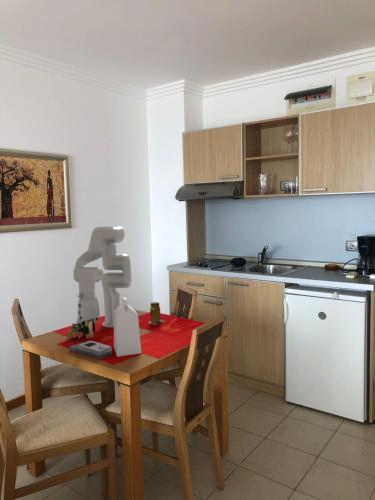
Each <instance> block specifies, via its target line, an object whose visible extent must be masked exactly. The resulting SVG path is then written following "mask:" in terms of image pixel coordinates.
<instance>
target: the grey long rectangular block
mask: <svg viewBox="0 0 375 500" xmlns="http://www.w3.org/2000/svg"><path fill="white" fill-rule="evenodd" d="M69 350H70V351H71V352H75V353H78V354H81V355H83V356H87V357H90V358H92V359H93V358H94V359H96V360H101V359H105V358H107V357H109V356H112V355H113V350H112V346H110V345H107V344H104V343H101V342H97V341H94V340H93V341H92V340H88V341H86V342H83V341H82V342H78V343H76V344H74V345H71V346H69Z"/></svg>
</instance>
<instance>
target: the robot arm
mask: <svg viewBox="0 0 375 500" xmlns="http://www.w3.org/2000/svg"><path fill="white" fill-rule="evenodd" d="M124 238H125V230H124V228H123V227H122V226H120V225H119V226H118V225H114V226H112V225H111V226H106V225H105V226H97V227H95V228H93V230H92V232H91V236H90V241H89V245H88V247H87V248H88V249H87V250H86V251H84V252H83V253H82V254H81V255H80V256H79V257H78V258H77V259H76V262H75V265H74V268H73V273H72V274H73V279H74V281H75V282H76V283H78V294H77V298H78V301H77V319H76V323H80V324H81V325H82V326H83V332H84V334H89V327H88V326H87V323H88V320H90V319H92V325H93V333H95V332H96V323H97V320H98V319H99V318H100V317H101V313H100V304H99V300H98V297H97V296H96V283H99V282H101V285H102V292H103V304H104V305H103V306H104V322H102V326H103V327H104V328H114V311H115V310H116V309H117V307H118V306H120V305H121V304H122V302H121V294H120V292H119V291H118V289H129V288H130V287H131V286H132V270H131V258H130V256H129V255H128V254H126V253H117V252H118V251H117V245H116V244H117V243H120V242H122V241H123V240H124ZM100 258H101V261H102V267H103V268H101V267H98V266H86V265H88V264H90V263H92V262H94V261H97V260H98V259H100ZM103 269H104V270H105V271H108V272H104V270H103Z"/></svg>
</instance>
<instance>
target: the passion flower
mask: <svg viewBox="0 0 375 500" xmlns="http://www.w3.org/2000/svg"><path fill="white" fill-rule="evenodd" d="M71 325H72V326H71V329H70V330H68V332H67V337H68V338H72V337H73V335H74V338H77V337H78V339H77V340H78V341H79V340H80V338H81V337H82V336H86V334H84V332H83V326H82V325H81V324H80V323H78V322H75V323H74V322H73V323H71Z"/></svg>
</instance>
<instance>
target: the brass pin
mask: <svg viewBox="0 0 375 500" xmlns="http://www.w3.org/2000/svg"><path fill="white" fill-rule="evenodd" d="M87 326H88V327H89V334H86V335H85V336H86V339H92V338H94V332H93V325H92V319H90V320H88V323H87Z"/></svg>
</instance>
